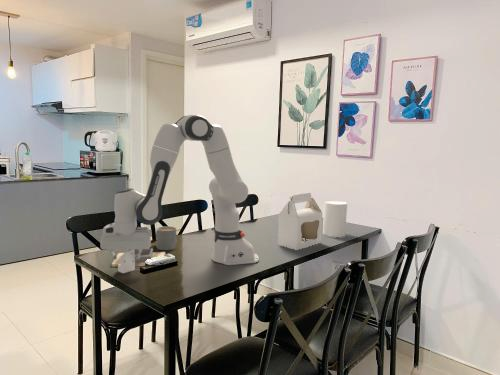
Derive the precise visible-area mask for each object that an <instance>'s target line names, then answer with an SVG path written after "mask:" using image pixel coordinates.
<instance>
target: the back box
mask: <svg viewBox="0 0 500 375" xmlns="http://www.w3.org/2000/svg"><path fill="white" fill-rule="evenodd" d="M139 252H140V251H138V249H135V255H136V254H138V253H139ZM153 252H154V248H149V249H142V252H141V254H149V256H140V259H136V256H135V262H145V261H146V260H147V259H151V258H152V255H153Z"/></svg>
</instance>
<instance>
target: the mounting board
mask: <svg viewBox="0 0 500 375" xmlns="http://www.w3.org/2000/svg"><path fill="white" fill-rule="evenodd" d="M124 253H125V252H118V253H117V259H116V260H113V261H112V263H111V267H112V268H116V267H117V268H118V264H120V257H121V256H122V255H123V254H124ZM162 255H165V256H166V251H155V252H154V251H153V255H152V258H153V257H158V256H162ZM135 256H136V255H135ZM140 256H149V254H140ZM135 267H146V266H145V262H135Z"/></svg>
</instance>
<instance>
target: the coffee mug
mask: <svg viewBox="0 0 500 375" xmlns="http://www.w3.org/2000/svg"><path fill="white" fill-rule="evenodd" d="M155 239H156V250H159V251H172V250H175V249H176V248H177V228H176V227H175V226H168V225H166V226H160V227H157V228H156V231H155Z"/></svg>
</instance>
